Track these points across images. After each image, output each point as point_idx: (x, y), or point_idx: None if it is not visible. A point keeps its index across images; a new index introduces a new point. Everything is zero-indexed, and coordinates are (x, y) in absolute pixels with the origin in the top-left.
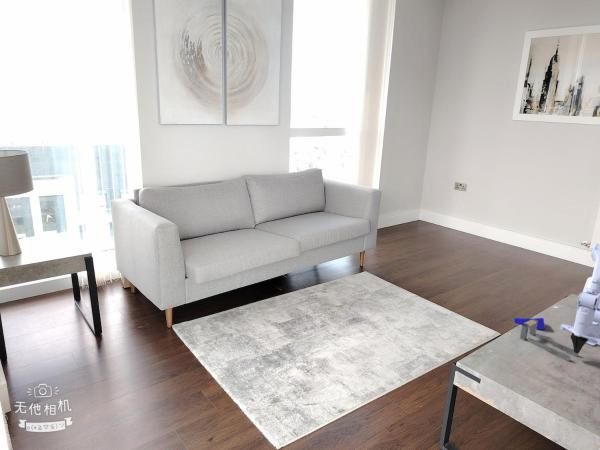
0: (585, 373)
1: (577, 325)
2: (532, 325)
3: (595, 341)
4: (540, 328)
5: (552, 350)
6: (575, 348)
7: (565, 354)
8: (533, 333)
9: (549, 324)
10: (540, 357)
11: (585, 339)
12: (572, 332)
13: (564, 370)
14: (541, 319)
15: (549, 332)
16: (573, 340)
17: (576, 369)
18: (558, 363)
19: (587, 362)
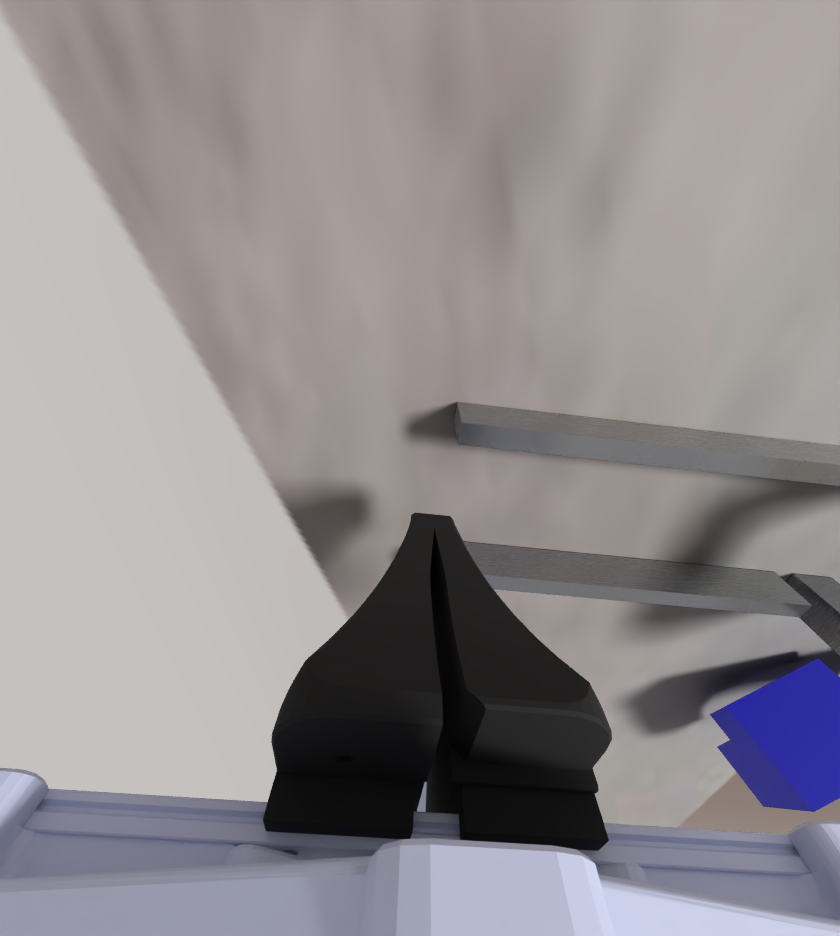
0: (248, 288)
1: None
2: None
3: (72, 827)
4: (753, 696)
5: (646, 439)
6: (442, 546)
7: (513, 445)
8: (833, 604)
9: (664, 756)
10: (754, 202)
11: (301, 776)
12: (648, 899)
13: (427, 100)
14: (822, 795)
15: (661, 694)
16: (508, 641)
17: (344, 294)
18: (532, 252)
19: (343, 518)
